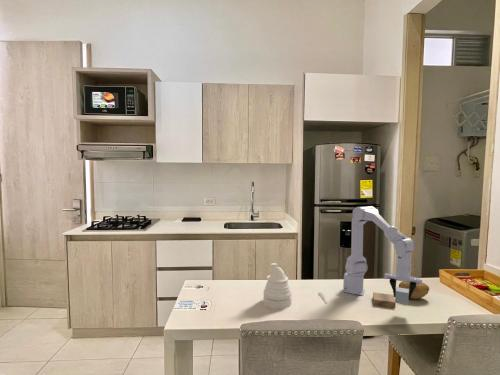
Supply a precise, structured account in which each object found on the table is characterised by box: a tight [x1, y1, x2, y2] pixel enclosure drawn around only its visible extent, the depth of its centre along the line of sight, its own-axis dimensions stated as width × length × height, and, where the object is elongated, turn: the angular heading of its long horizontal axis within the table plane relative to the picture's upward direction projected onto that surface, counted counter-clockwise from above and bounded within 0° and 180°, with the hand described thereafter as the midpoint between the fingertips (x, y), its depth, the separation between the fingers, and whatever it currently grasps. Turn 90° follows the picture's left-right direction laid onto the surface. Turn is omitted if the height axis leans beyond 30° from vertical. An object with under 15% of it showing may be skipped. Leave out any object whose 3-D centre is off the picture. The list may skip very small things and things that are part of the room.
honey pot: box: [262, 262, 293, 310], centre depth 150 cm, size 13×13×18 cm
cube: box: [394, 286, 410, 306], centre depth 140 cm, size 5×5×5 cm
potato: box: [398, 281, 430, 300], centre depth 158 cm, size 10×14×8 cm
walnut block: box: [372, 292, 397, 309], centre depth 152 cm, size 9×9×3 cm
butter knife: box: [318, 291, 328, 305], centre depth 150 cm, size 1×27×3 cm
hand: (402, 297), depth 140 cm, fingers closed on cube, 5 cm apart
